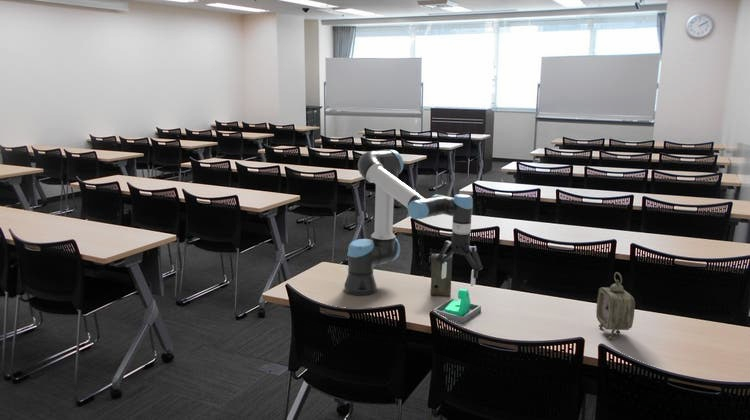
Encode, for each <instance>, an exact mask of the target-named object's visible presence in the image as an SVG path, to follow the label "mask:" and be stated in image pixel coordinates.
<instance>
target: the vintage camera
mask: <svg viewBox="0 0 750 420" xmlns="http://www.w3.org/2000/svg"><path fill="white" fill-rule="evenodd" d="M439 254H440V253H434V252H433V253H432V254H431V256H430V263H431V272H430V273H431V275H430V277H431V279H430V296H433V297H434V296H437V297H439V296H440V297H451V295H452V293H451V292H452V291H451V290H452V272H453V271H452V270H453V254H452V255H451V256H450V257H449V258H448V259H447V260H446V261H445V262H446V263H447V269H446V277H445V278H444V279H442V278H441V276H442V270H440V264H441V263H440V262H439V261H437V260H436V259H437V257H438V255H439ZM447 254H448V253H447ZM447 254H444V256H443V257H442V259H443V258H444V257H445V256H446V255H447Z"/></svg>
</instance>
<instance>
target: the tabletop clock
mask: <svg viewBox="0 0 750 420" xmlns="http://www.w3.org/2000/svg"><path fill="white" fill-rule="evenodd" d="M613 274H614V275H613V278H614V279H613V280H614V281H615V283H612V284H611V285H610V287H605V286H604V287H599V288H598V292H597V300H596V313H595V314H596V318H597V321H598V323H599V325H598V328H599V327H600V329H602V328H604V330H610V331H611V334H610V335H609V336H608V339H609V340H610V339H612V340H613V339H614V336H613V335H614V334H616V333H617V334H616V335H620V334H621V331H628V330H631V329H632V327H633V322H634V317H635V307H636V302H635V301H636V300H635V298H634V297H633V295H632V294H630V292H628V291H626V290H625V289H624V286H623V285H622V283H623V277H622V275H621V273H620V272H618V271H615V273H613ZM616 275H618V276H619V278H620V280H619V279H616V278H617V277H616Z"/></svg>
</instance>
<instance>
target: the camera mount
mask: <svg viewBox="0 0 750 420" xmlns="http://www.w3.org/2000/svg"><path fill="white" fill-rule="evenodd" d="M470 299H471V298H470V293H469V289H464V288H459V289H458V292H457V299H456V300H453V301H452V302H451V303H450V304H449V305H448V306H447V307H446V308H445V312H447V313H450V314H454V315H459V316H462V315H465V314H466V313H467V312H468V308H469V307H470V303H471V300H470ZM457 300H460V301H457Z"/></svg>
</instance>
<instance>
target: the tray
mask: <svg viewBox="0 0 750 420" xmlns="http://www.w3.org/2000/svg"><path fill="white" fill-rule="evenodd" d="M453 300H457V301H461V299H455V298H450V299H448V300H447V301H445V302H444V303H442V304H440V305H439V306H437V307H435V308H433V309H432V312H433V311H436V312H437V313H439V314H440V315H442V316H444V317H446V318H447V319H446V320H448V319H449V321H453V322H456V323H460V324H465V323H466V322H467V321H469V320H470V319H472V318H473V317H475V316H476V315H479V313H481V311H482V305H479V304H475V303H472V302H470V307H469V308H468V312H467V313H466V314H465V315H462V316H459V315H454V314H450V313H447V312H445V308H446V307H447V306H448V305H449V304H450V303H451V302H452V301H453Z"/></svg>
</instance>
